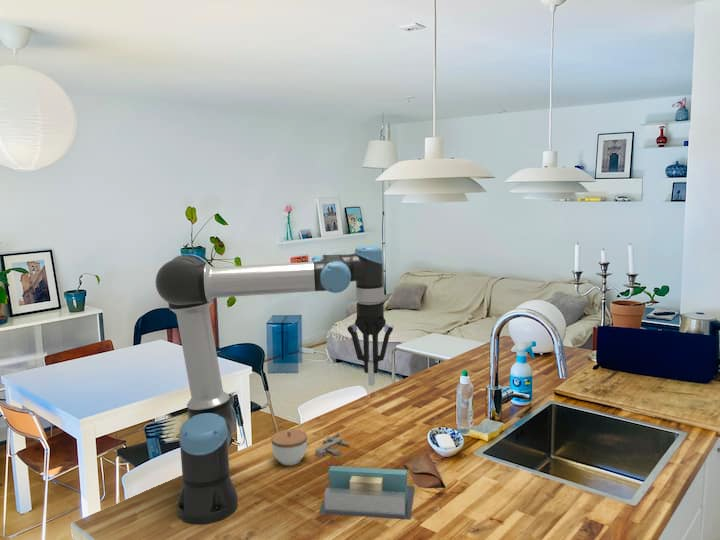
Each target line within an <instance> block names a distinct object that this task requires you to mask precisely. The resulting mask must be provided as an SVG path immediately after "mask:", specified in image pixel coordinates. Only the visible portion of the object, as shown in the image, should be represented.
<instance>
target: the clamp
mask: <svg viewBox="0 0 720 540" xmlns="http://www.w3.org/2000/svg"><path fill="white" fill-rule="evenodd" d="M339 435H340V433H339V432H336V433H335V434H334V435H332V436H327V438H326V439H324V440H323V441H322V443H323V444H324V445H322V446H321V447H318V448H317V449H315V452H314V453H315V456H316V457H318V458H320V457H321V459H324V457H327V453H331V454H332V455H333V456H337V457H338V456H339V455H340V454H341V450H338V449H336V448H338V447H340V446H342V445H343V446H348V447H349V446H350V444H349V443H348V442H345V441H343V438H342V437H338V438H335V437H336V436H339ZM328 441H329V442H328ZM326 442H328V443H326ZM336 444H337V445H338V446H336V448H335V447H334V449H333V450H332V449H329V448H330V447H332V446H334V445H336ZM326 452H327V453H326Z"/></svg>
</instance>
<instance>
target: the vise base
mask: <svg viewBox="0 0 720 540" xmlns="http://www.w3.org/2000/svg"><path fill="white" fill-rule="evenodd" d="M415 487H416V486H415V485H407V504H406V502H405V492H390V491H373V490H357V489H340V488H329V487H326V488H325V491H324V493H323V495H324V498H323V501H322V504H321V506H320V508H319V510H318V514H323V515H337V516H349V517H351V516H352V517H367V518H379V519H393V520H411V519H412V513H413V511H412V510H413V504H414V496H415V489H416V488H415Z"/></svg>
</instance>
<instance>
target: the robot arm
mask: <svg viewBox="0 0 720 540" xmlns="http://www.w3.org/2000/svg"><path fill="white" fill-rule="evenodd" d="M383 260H384V259H383V249H382V248H381V247H379V246H377V245H360V246H359V245H358V246H356V247H355V249H354V253H349V254H321V255H314V256H312V258H311V261H305V262H303V261H302V262H301V261H300V262H287V263H286V262H285V263H270V264H267V263H266V264H265V263H264V264H253V265H252V264H250V265H249V264H248V265H233V266H218V267H217V266H215V267H213V266H211V265H210V264H209V263H208V262H207V261H206V259H204V258H202V257H201V256H199V255H195V254H181V255H178V256H175V257H174V258H173V259H172V260H169V261H168V262H166V263H165V264H163V265H162V266H161V267H160V269H158V271H157V273H156V276H155V288H156V291H157V294H158V295H159V296H160V297H161V298H162V300H164V301H166V302H167V303H168V309H169V310H170V311H172V312H173V313H174V314H175V315H176V319H177V324H178V330H179V336H180V341H181V347H182V351H183V358H184V363H185V370H186V374H187V382H188V386H189V392H190V399H189V401H188V402H187V404H186V408H187V412H188V413H187V414H188V418H187V419H185V421H184V422H183V423H182V424H181V426H180V428H179V436H178V440H179V446H180V459H181V473H182V485H181V489H180V494H179V497H178V501H177V515H178V517H179V519H180V520H181V521H183V522H185V523H189V524H194V525H203V524H205V525H206V524H212V523H215V522H219V521H221V520H224V519H226V518H227V517H230V516H231V515H232V514H233V513H234V512H235V511H236V510H237V508H238V505H239V498H238V497H239V496H238V492H237V490H236V488H235V485H234V483H233V480H232V479H231V475H230V463H229V462H230V461H229V459H230V458H229V448H230V444H231V440H232V438H233V435H234V432H235V430H236V425H237V414H236V411H235V408H234V406H233V405H232V402H231V396H230V394H229V393H228V392H226V391H224V390H223V384H222V377H221V372H220V365H219V360H218V354H217V348H216V342H215V337H214V331H213V330H214V329H213V325H212V319H211V314H210V307H211V306H212V304H213V302H214V299H218V298H233V297H235V298H237V297H249V296H261V295H262V296H263V295H265V296H266V295H276V294H277V295H278V294H293V293H296V294H297V293H308V292H330V293H333V294H338V293H341V292H344V291H345V290H346V289H348V287H349V286H350V283H351V282H355V292H356V293H355V296H356V298H355V300H356V301H357V302H356V319H355V321H354V323H352V324H350V325H349V326H347V331H348V333H349V334H350V335H351V339H352V343H353V346H354V350H355V354H356V358H357V360H358V361H362V362H363V368H364V369H363V371H364V373H365V374H367V381H368V382H367V383H368V386H372V387H373V386H375V384H376V377H375V376H376V374H378V372H379V362H381V361H384V360H385V357H386V352H387V348H388V344H389V339H390V335H391V333H392V332H393V330H394V326H393V325H390V324H388V323H387V322H386V319H385V311H384V309H385V308H384V306H385V305H384V302H383V301H384V261H383ZM383 328H384V330H383ZM357 330H359V331H360V333H361V334H362V339H363V340H362V341H363V350H362V347H361V343H360V339H359V335H358V332H357ZM382 330H383V331H384V332H385V333H384V335H383V336H384V337H383V341H382V345H381V349H380V354H379V334H380V332H381V331H382ZM370 336H371V337H372V339H371V340H372V359H371V360H370Z"/></svg>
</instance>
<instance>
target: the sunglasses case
mask: <svg viewBox="0 0 720 540" xmlns="http://www.w3.org/2000/svg"><path fill="white" fill-rule="evenodd" d="M403 466H404V468H405V470H409V473H410V475H411V477H412V481H413V483H414V484H415V485H416V486H415V485H414V486H415V487H418V488H423V489H445V488H446V485H445V482H444V480H443V478H442V476H441V474H440V472H439V469H438V468H437V467H436V465H435V463H434V461H433V460H432V458H431V456H430V455H429V453H428V452H427V451H426V452H424V454H421V455H420V456H418V457H416V458H414V459H412V460H410V461H408V462H407V463H404V464H403Z"/></svg>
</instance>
